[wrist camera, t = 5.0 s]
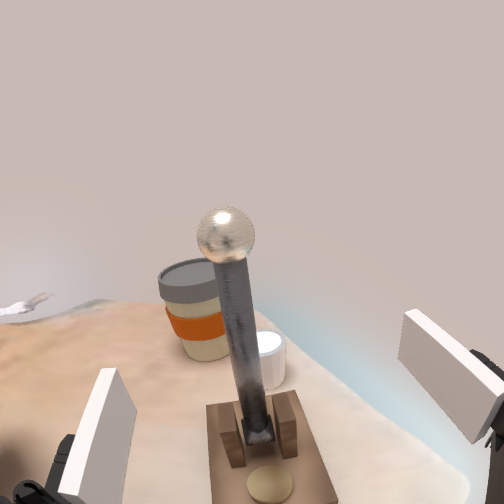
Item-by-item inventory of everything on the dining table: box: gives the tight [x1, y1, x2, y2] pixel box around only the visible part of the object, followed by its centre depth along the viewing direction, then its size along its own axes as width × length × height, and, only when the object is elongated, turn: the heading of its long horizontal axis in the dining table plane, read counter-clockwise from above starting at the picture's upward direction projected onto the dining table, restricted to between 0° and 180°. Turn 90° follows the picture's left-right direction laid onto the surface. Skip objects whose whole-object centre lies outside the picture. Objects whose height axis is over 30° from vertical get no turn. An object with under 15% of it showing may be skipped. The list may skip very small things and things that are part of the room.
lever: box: [197, 207, 276, 447], centre depth 24 cm, size 4×4×24 cm
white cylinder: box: [256, 329, 286, 390], centre depth 43 cm, size 7×7×7 cm
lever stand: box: [206, 390, 338, 504], centre depth 28 cm, size 12×18×9 cm, turn 8°
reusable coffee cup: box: [158, 258, 229, 362], centre depth 51 cm, size 13×12×15 cm
